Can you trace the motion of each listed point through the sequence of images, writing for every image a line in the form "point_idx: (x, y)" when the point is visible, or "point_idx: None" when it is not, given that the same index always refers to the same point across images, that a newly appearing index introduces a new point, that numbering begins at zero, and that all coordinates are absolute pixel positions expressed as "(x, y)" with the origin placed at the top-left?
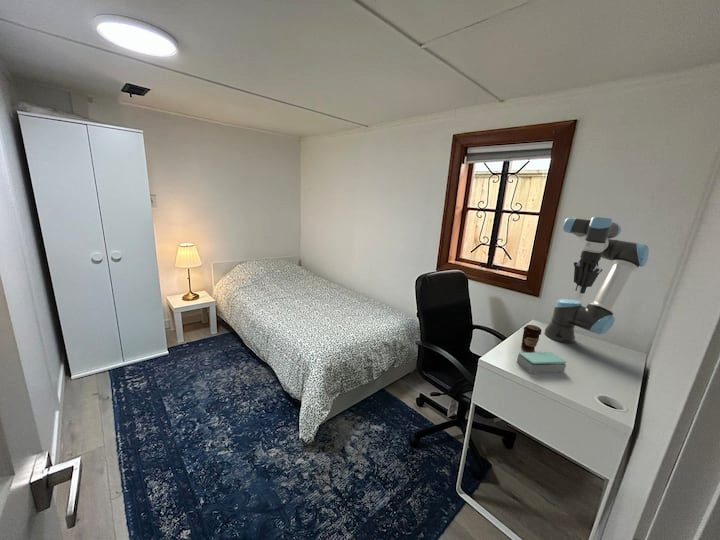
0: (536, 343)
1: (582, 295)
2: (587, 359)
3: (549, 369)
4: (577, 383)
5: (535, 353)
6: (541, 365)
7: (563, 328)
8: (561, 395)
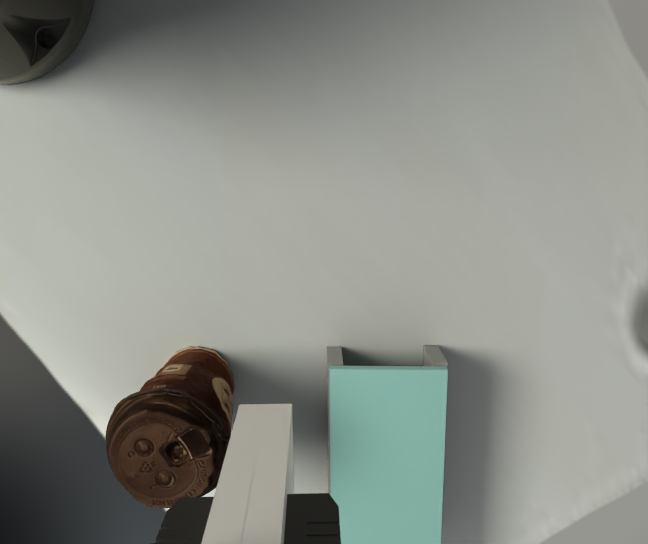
0: (228, 395)
1: (289, 445)
2: (316, 47)
3: None
4: (532, 354)
5: (342, 482)
6: None
7: (6, 7)
8: (597, 507)
